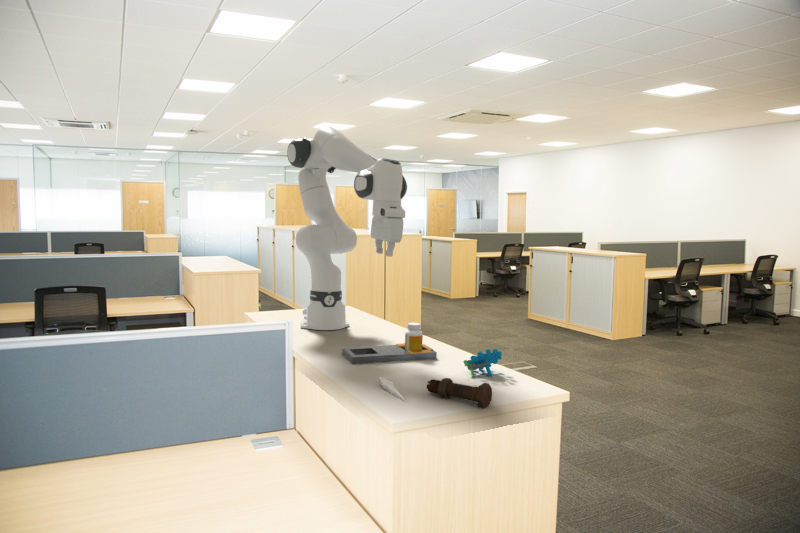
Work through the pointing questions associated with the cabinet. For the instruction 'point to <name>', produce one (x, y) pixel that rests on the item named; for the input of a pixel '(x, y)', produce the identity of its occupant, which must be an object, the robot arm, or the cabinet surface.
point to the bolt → (461, 391)
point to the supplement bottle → (413, 337)
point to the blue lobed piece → (483, 361)
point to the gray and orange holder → (386, 354)
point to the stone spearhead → (390, 387)
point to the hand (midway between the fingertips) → (384, 254)
